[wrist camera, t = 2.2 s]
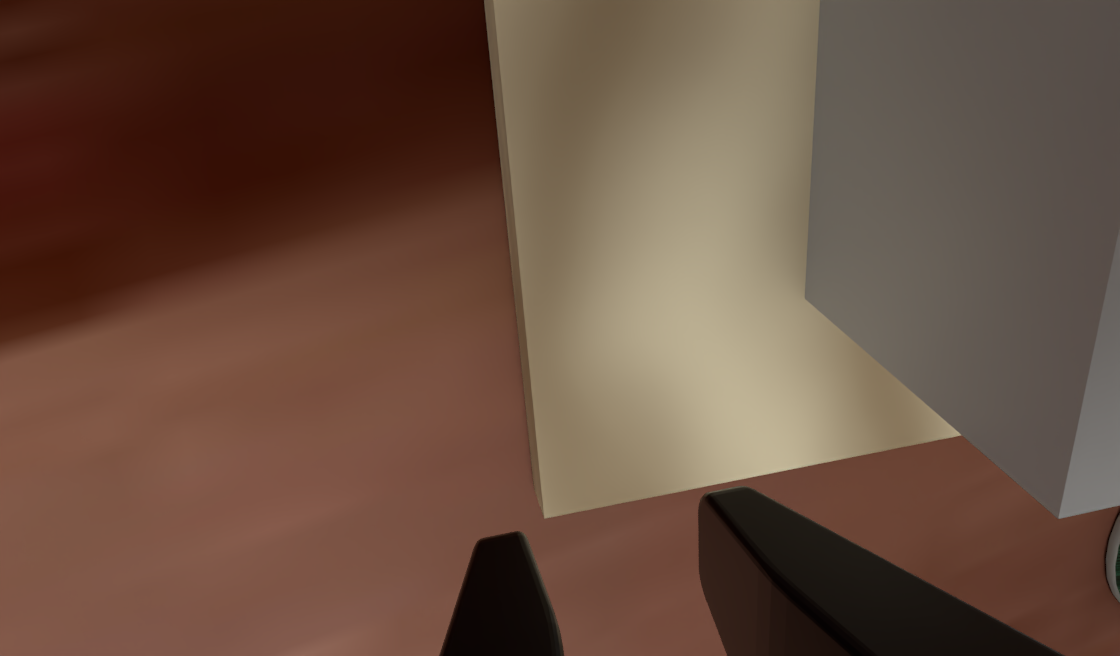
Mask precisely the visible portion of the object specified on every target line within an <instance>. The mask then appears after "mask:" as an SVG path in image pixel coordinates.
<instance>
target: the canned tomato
mask: <svg viewBox="0 0 1120 656" xmlns="http://www.w3.org/2000/svg"><path fill="white" fill-rule="evenodd" d="M1106 572H1107V580H1108V583H1109V585H1110V588H1111V591H1112V593H1113V595H1114V596H1115V597H1116V599H1117V600H1118V601H1119V602H1120V514H1119V515H1118V517H1117V520H1116V522H1115V525H1114V528H1113V530H1112V533H1111V536H1110V538H1109V543H1108V549H1107V555H1106Z"/></svg>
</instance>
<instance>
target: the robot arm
mask: <svg viewBox="0 0 1120 656" xmlns="http://www.w3.org/2000/svg"><path fill="white" fill-rule="evenodd" d="M698 525H699V574H700V580H701V585H702V588H703V592H704V595H705V598H706V601H707V603H708V606H709V609H710V611H711V614H712V616H713V619H714V622H715V624H716V627H717V630H718V632H719V635H720V638H721V640H722V643H723V645H724V648H725V651H726V653H727V656H1064V655H1062V654H1061V653H1059V652H1057V651H1055V650H1053V649H1051V648H1049V647H1048V646H1046V645H1044V644H1042V643H1040V642H1038V641H1036V640H1034V639H1033V638H1031V637H1029V636H1027V635H1025V634H1023V633H1021V632H1020V631H1018V630H1016V629H1014V628H1012V627H1010V626H1008V625H1006V624H1005V623H1003V622H1001V621H999V620H997V619H995V618H993V617H991V616H990V615H988V614H986V613H984V612H982V611H980V610H978V609H977V608H975V607H973V606H971V605H969V604H967V603H965V602H963V601H962V600H960V599H958V598H956V597H954V596H952V595H950V594H949V593H947V592H945V591H943V590H941V589H939V588H937V587H935V586H934V585H932V584H930V583H928V582H926V581H924V580H922V579H921V578H919V577H917V576H915V575H913V574H911V573H909V572H907V571H906V570H904V569H902V568H900V567H898V566H896V565H894V564H892V563H891V562H889V561H887V560H885V559H883V558H881V557H879V556H878V555H876V554H874V553H872V552H870V551H868V550H866V549H864V548H863V547H861V546H859V545H857V544H855V543H853V542H851V541H850V540H848V539H846V538H844V537H842V536H840V535H838V534H836V533H835V532H833V531H831V530H829V529H827V528H825V527H823V526H822V525H820V524H818V523H816V522H814V521H812V520H810V519H808V518H807V517H805V516H803V515H801V514H799V513H797V512H795V511H794V510H792V509H790V508H788V507H786V506H784V505H782V504H780V503H779V502H777V501H775V500H773V499H771V498H769V497H767V496H765V495H764V494H762V493H760V492H758V491H756V490H754V489H752V488H750V487H747V486H737V487H732V488H728V489H723V490H718V491H713V492H708V493H706V494H705V495H704V496H703V497H702V498H701V500H700V503H699V510H698ZM439 656H564V651H563V645H562V639H561V634H560V629H559V626H558V623H557V619H556V616H555V613H554V610H553V607H552V605H551V602H550V599H549V596H548V594H547V591H546V588H545V585H544V583H543V580H542V577H541V574H540V572H539V569H538V566H537V563H536V561H535V558H534V555H533V552H532V550H531V547H530V544H529V541H528V539H527V537H526V535H525V534H524V533H522V532H520V531H515V532H510V533H505V534H500V535H495V536H490V537H485V538H482V539H480V540H479V541H477V543H476V545H475V546H474V549H473V552H472V555H471V558H470V562H469V565H468V568H467V571H466V574H465V577H464V580H463V583H462V587H461V590H460V593H459V596H458V599H457V602H456V605H455V608H454V612H453V615H452V618H451V621H450V624H449V627H448V630H447V633H446V637H445V640H444V643H443V646H442V649H441V652H440V655H439Z"/></svg>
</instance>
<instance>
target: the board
mask: <svg viewBox="0 0 1120 656" xmlns="http://www.w3.org/2000/svg"><path fill="white" fill-rule="evenodd" d="M484 6H485V15H486V25H487V35H488V45H489V54H490V64H491V74H492V84H493V94H494V103H495V113H496V123H497V133H498V142H499V152H500V162H501V172H502V181H503V191H504V201H505V211H506V220H507V230H508V240H509V250H510V259H511V269H512V279H513V289H514V298H515V308H516V318H517V328H518V338H519V347H520V357H521V367H522V377H523V386H524V396H525V406H526V416H527V425H528V435H529V445H530V455H531V464H532V474H533V484H534V490H535V493H536V496H537V499H538V502H539V505H540V508H541V511H542V514H543V516H544V519H545V518H550V517H555V516H560V515H565V514H570V513H575V512H580V511H585V510H590V509H595V508H600V507H605V506H610V505H615V504H620V503H625V502H630V501H635V500H640V499H645V498H650V497H655V496H660V495H665V494H670V493H675V492H680V491H685V490H690V489H695V488H700V487H705V486H710V485H715V484H720V483H725V482H730V481H735V480H740V479H745V478H750V477H755V476H760V475H765V474H770V473H775V472H780V471H785V470H790V469H795V468H800V467H805V466H810V465H815V464H820V463H825V462H830V461H835V460H840V459H845V458H850V457H855V456H860V455H865V454H870V453H875V452H880V451H885V450H890V449H895V448H900V447H905V446H910V445H915V444H920V443H925V442H930V441H935V440H940V439H945V438H950V437H955V436H960V435H961V434H960V433H959V432H958V431H956V430H955V429H954V428H953V427H952V426H951V425H950V424H948V423H947V422H946V421H945V420H944V419H943V418H941V417H940V416H939V415H938V414H937V413H936V412H935V411H933V410H932V409H931V408H930V407H929V406H928V405H927V404H925V403H924V402H923V401H922V400H921V399H920V398H918V397H917V396H916V395H915V394H914V393H913V392H912V391H910V390H909V389H908V388H907V387H906V386H905V385H904V384H902V383H901V382H900V381H899V380H898V379H897V378H895V377H894V376H893V375H892V374H891V373H890V372H889V371H887V370H886V369H885V368H884V367H883V366H882V365H881V364H879V363H878V362H877V361H876V360H875V359H874V358H872V357H871V356H870V355H869V354H868V353H867V352H866V351H864V350H863V349H862V348H861V347H860V346H859V345H858V344H856V343H855V342H854V341H853V340H852V339H851V338H849V337H848V336H847V335H846V334H845V333H844V332H843V331H841V330H840V329H839V328H838V327H837V326H836V325H834V324H833V323H832V322H831V321H830V320H829V319H828V318H826V317H825V316H824V315H823V314H822V313H821V312H820V311H818V310H817V309H816V308H815V307H814V306H813V305H811V304H810V303H809V302H808V301H807V300H806V299H805V282H806V262H807V243H808V223H809V204H810V184H811V165H812V145H813V126H814V106H815V87H816V67H817V48H818V28H819V9H820V0H484Z"/></svg>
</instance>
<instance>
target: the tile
mask: <svg viewBox="0 0 1120 656" xmlns="http://www.w3.org/2000/svg"><path fill="white" fill-rule="evenodd" d="M805 299H806V300H807V301H808V302H809V303H810V304H811V305H813V306H814V307H815V308H816V309H817V310H818V311H820V312H821V313H822V314H823V315H824V316H825V317H826V318H828V319H829V320H830V321H831V322H832V323H833V324H834V325H836V326H837V327H838V328H839V329H840V330H841V331H843V332H844V333H845V334H846V335H847V336H848V337H849V338H851V339H852V340H853V341H854V342H855V343H856V344H858V345H859V346H860V347H861V348H862V349H863V350H864V351H866V352H867V353H868V354H869V355H870V356H871V357H872V358H874V359H875V360H876V361H877V362H878V363H879V364H881V365H882V366H883V367H884V368H885V369H886V370H887V371H889V372H890V373H891V374H892V375H893V376H894V377H895V378H897V379H898V380H899V381H900V382H901V383H902V384H904V385H905V386H906V387H907V388H908V389H909V390H910V391H912V392H913V393H914V394H915V395H916V396H917V397H918V398H920V399H921V400H922V401H923V402H924V403H925V404H927V405H928V406H929V407H930V408H931V409H932V410H933V411H935V412H936V413H937V414H938V415H939V416H940V417H941V418H943V419H944V420H945V421H946V422H947V423H948V424H950V425H951V426H952V427H953V428H954V429H955V430H956V431H958V432H959V433H960V434H961V435H962V436H963V437H965V438H966V439H967V440H968V441H969V442H970V443H971V444H973V445H974V446H975V447H976V448H977V449H978V450H979V451H981V452H982V453H983V454H984V455H985V456H986V457H988V458H989V459H990V460H991V461H992V462H993V463H994V464H996V465H997V466H998V467H999V468H1000V469H1001V470H1002V471H1004V472H1005V473H1006V474H1007V475H1008V476H1009V477H1011V478H1012V479H1013V480H1014V481H1015V482H1016V483H1017V484H1019V485H1020V486H1021V487H1022V488H1023V489H1024V490H1025V491H1027V492H1028V493H1029V494H1030V495H1031V496H1032V497H1034V498H1035V499H1036V500H1037V501H1038V502H1039V503H1040V504H1042V505H1043V506H1044V507H1045V508H1046V509H1047V510H1048V511H1050V512H1051V513H1052V514H1053V515H1054V516H1055V517H1057V518H1058V519H1060V518H1065V517H1069V516H1074V515H1078V514H1083V513H1088V512H1092V511H1097V510H1101V509H1106V508H1110V507H1115V506H1119V505H1120V0H820V9H819V28H818V48H817V67H816V87H815V106H814V126H813V145H812V165H811V184H810V204H809V223H808V243H807V262H806V282H805Z"/></svg>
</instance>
